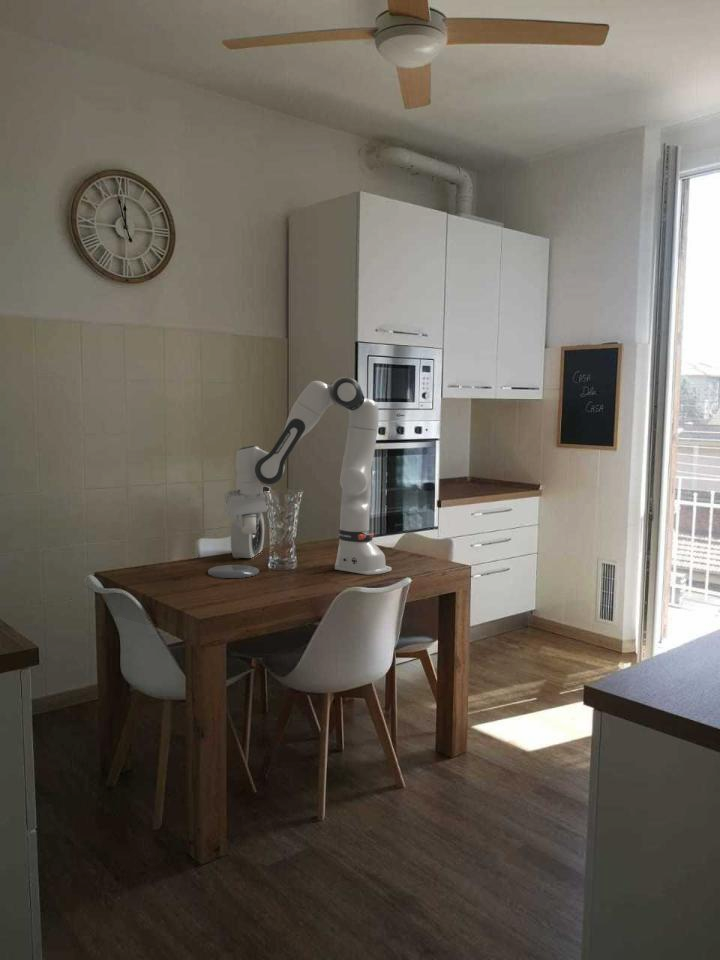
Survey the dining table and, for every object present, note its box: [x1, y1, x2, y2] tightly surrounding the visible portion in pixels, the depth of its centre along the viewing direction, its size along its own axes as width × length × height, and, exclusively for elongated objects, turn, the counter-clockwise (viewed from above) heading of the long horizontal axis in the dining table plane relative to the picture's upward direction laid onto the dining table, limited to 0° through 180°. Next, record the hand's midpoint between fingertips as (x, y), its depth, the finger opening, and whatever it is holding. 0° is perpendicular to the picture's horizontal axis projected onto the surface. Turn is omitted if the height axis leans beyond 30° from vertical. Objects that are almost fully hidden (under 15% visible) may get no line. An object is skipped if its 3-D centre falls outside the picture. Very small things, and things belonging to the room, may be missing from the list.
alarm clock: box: [230, 512, 265, 559], centre depth 306 cm, size 21×8×20 cm, turn 171°
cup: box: [241, 513, 256, 534], centre depth 288 cm, size 6×6×7 cm
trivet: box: [207, 564, 260, 579], centre depth 275 cm, size 18×18×1 cm
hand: (248, 525), depth 288 cm, fingers closed on cup, 5 cm apart
